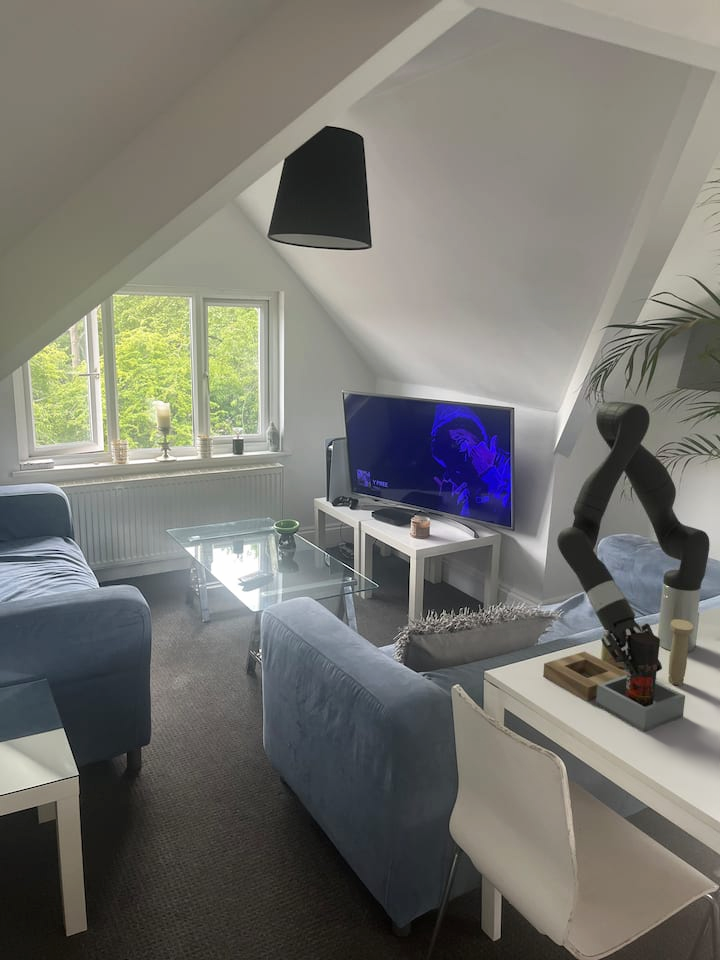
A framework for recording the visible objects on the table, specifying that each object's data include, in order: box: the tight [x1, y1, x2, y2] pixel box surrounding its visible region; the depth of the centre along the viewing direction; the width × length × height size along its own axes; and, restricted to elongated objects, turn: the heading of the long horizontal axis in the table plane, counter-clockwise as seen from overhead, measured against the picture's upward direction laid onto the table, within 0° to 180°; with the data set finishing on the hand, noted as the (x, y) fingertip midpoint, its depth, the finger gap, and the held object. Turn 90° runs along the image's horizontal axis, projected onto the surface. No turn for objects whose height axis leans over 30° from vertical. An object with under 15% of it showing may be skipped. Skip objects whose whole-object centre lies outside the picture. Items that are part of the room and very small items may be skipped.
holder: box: [542, 651, 627, 702], centre depth 173 cm, size 14×14×4 cm
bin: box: [595, 675, 686, 733], centre depth 160 cm, size 13×13×5 cm
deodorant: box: [625, 633, 660, 707], centre depth 159 cm, size 6×6×15 cm
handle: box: [668, 619, 693, 686], centre depth 172 cm, size 5×6×15 cm
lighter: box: [600, 630, 627, 669], centre depth 182 cm, size 7×4×10 cm, turn 67°
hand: (648, 673), depth 157 cm, fingers closed on deodorant, 6 cm apart
